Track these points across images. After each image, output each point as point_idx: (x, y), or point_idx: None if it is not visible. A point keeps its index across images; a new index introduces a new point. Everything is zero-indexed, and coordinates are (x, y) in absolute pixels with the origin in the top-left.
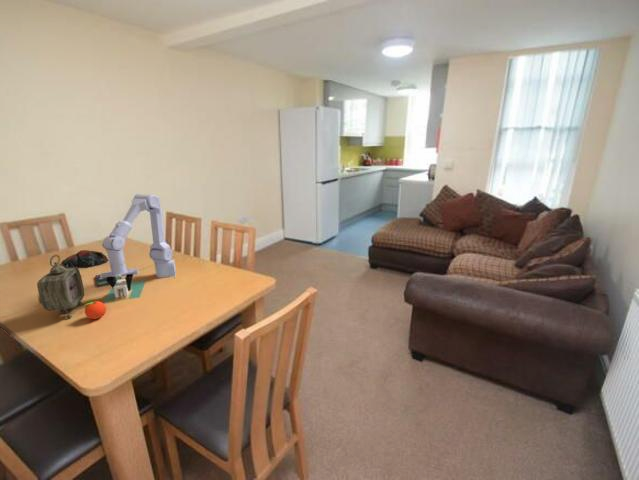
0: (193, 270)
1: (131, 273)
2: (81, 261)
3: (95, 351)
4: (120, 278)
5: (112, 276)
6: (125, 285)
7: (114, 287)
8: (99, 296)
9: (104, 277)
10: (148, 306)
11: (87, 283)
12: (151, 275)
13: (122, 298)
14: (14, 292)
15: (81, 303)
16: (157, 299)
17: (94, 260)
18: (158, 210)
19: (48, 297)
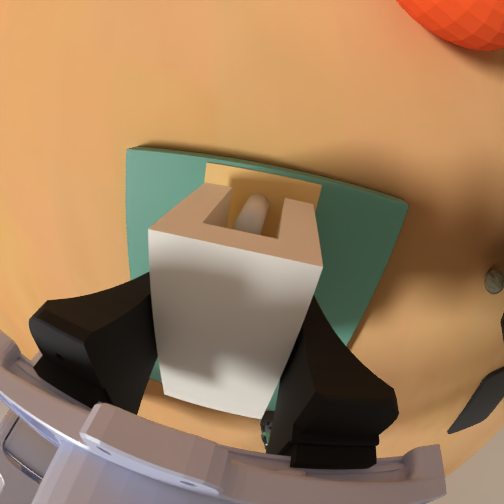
0: (29, 342)
1: (44, 389)
2: None
3: None
4: (265, 438)
5: (294, 466)
6: (150, 240)
7: (307, 260)
8: (391, 342)
9: (394, 464)
10: (97, 15)
11: (379, 443)
12: (149, 405)
13: (256, 190)
14: (501, 422)
15: (495, 274)
16: (53, 101)
17: None
18: None
19: None
